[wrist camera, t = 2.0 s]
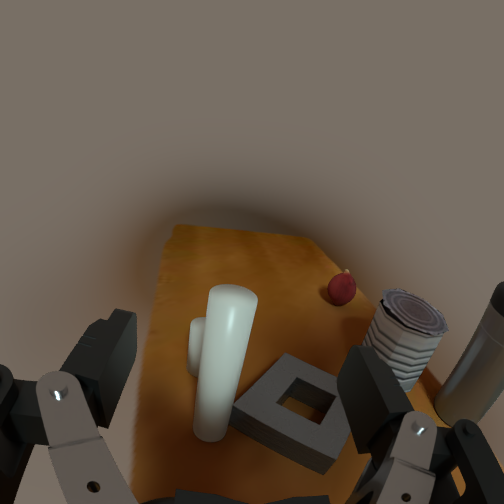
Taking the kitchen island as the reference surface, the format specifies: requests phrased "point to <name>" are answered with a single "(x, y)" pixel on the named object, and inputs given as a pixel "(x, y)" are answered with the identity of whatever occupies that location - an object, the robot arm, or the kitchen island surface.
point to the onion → (342, 288)
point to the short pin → (195, 345)
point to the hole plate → (294, 414)
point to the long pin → (222, 358)
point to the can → (405, 334)
